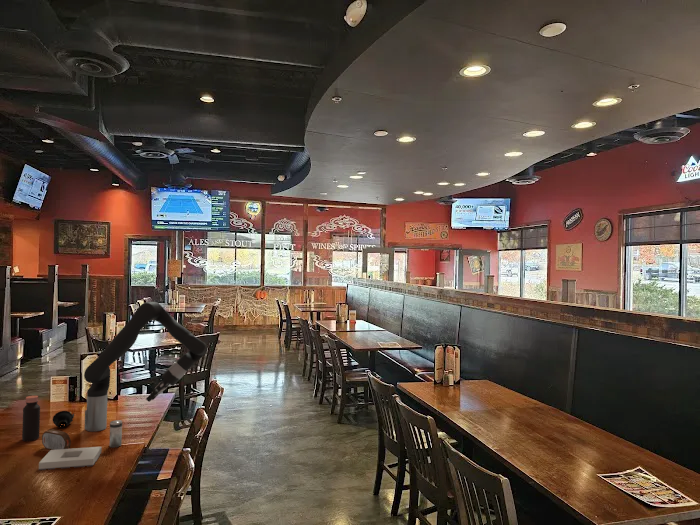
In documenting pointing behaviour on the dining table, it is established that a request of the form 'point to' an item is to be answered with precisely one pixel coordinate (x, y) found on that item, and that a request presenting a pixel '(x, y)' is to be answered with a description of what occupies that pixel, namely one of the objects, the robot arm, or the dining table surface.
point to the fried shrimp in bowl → (63, 418)
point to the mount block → (70, 458)
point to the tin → (56, 440)
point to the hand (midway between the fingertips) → (149, 399)
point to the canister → (115, 433)
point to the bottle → (31, 419)
